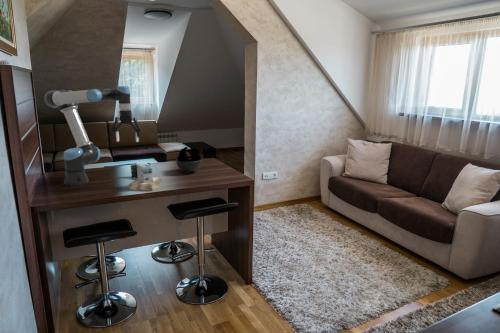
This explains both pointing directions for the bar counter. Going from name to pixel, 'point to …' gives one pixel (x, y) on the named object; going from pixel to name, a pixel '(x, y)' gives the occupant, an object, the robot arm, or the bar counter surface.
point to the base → (145, 184)
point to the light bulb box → (145, 172)
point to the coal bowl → (188, 160)
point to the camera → (135, 170)
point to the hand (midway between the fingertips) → (127, 141)
